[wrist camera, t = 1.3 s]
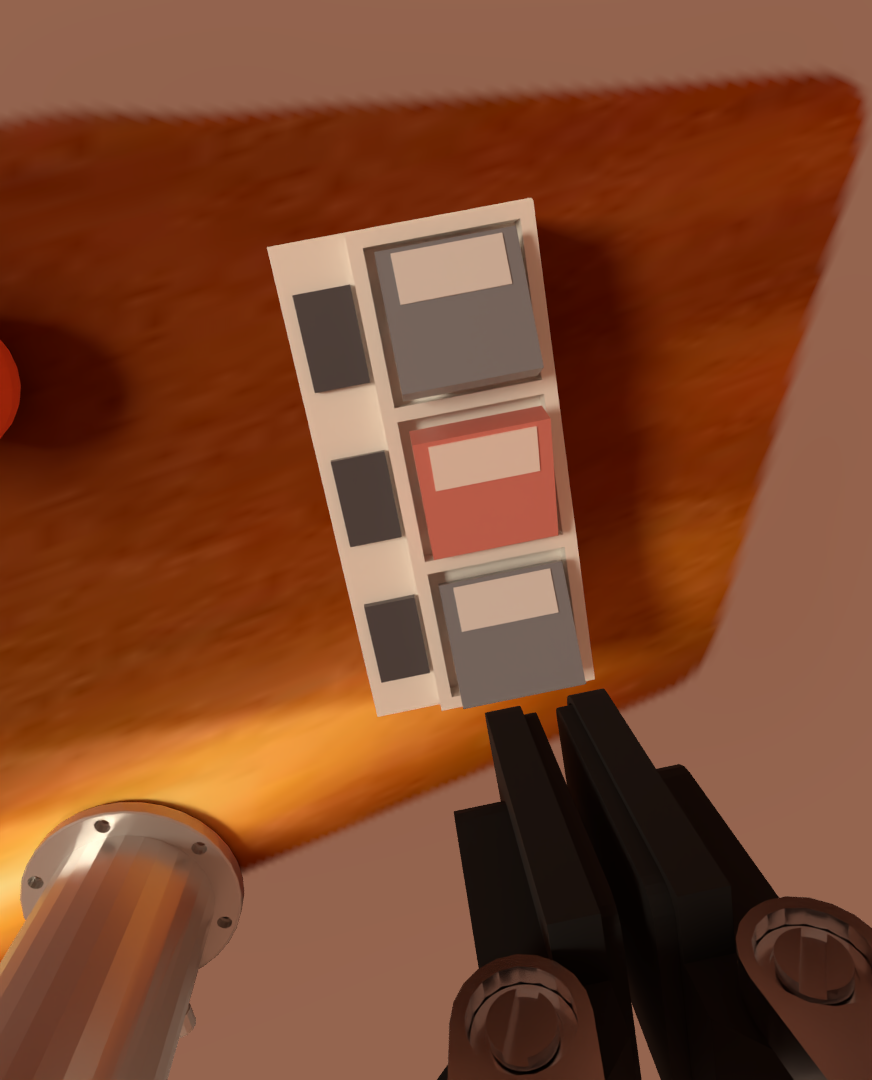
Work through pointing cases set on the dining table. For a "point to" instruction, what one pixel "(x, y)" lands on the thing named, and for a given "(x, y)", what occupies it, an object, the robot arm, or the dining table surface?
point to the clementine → (8, 389)
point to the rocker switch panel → (406, 448)
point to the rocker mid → (487, 481)
